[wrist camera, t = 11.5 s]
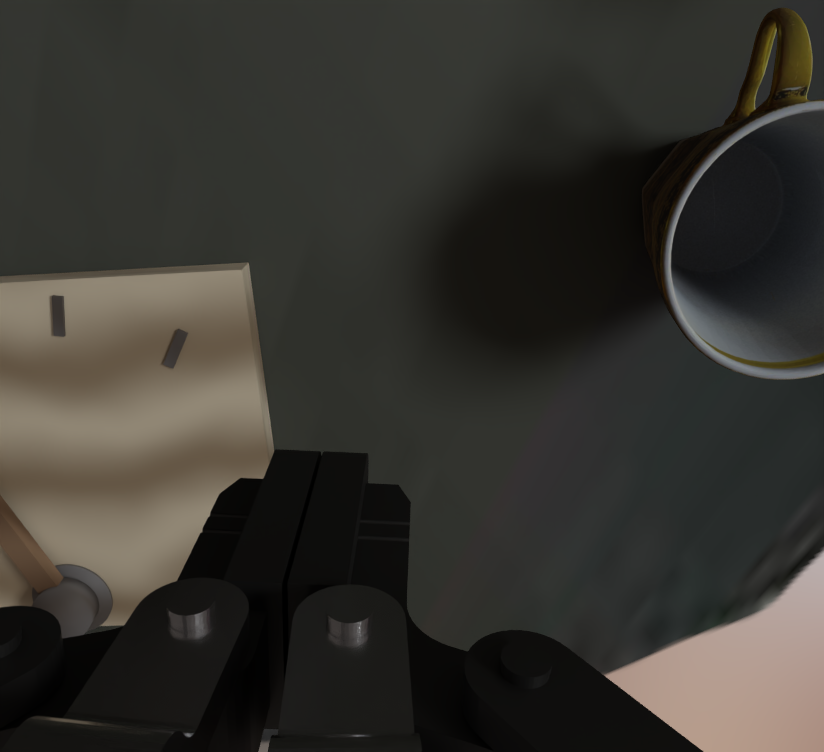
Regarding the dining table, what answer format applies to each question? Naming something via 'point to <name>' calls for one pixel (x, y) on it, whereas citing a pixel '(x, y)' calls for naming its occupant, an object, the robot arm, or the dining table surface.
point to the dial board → (126, 420)
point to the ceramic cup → (749, 221)
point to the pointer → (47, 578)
